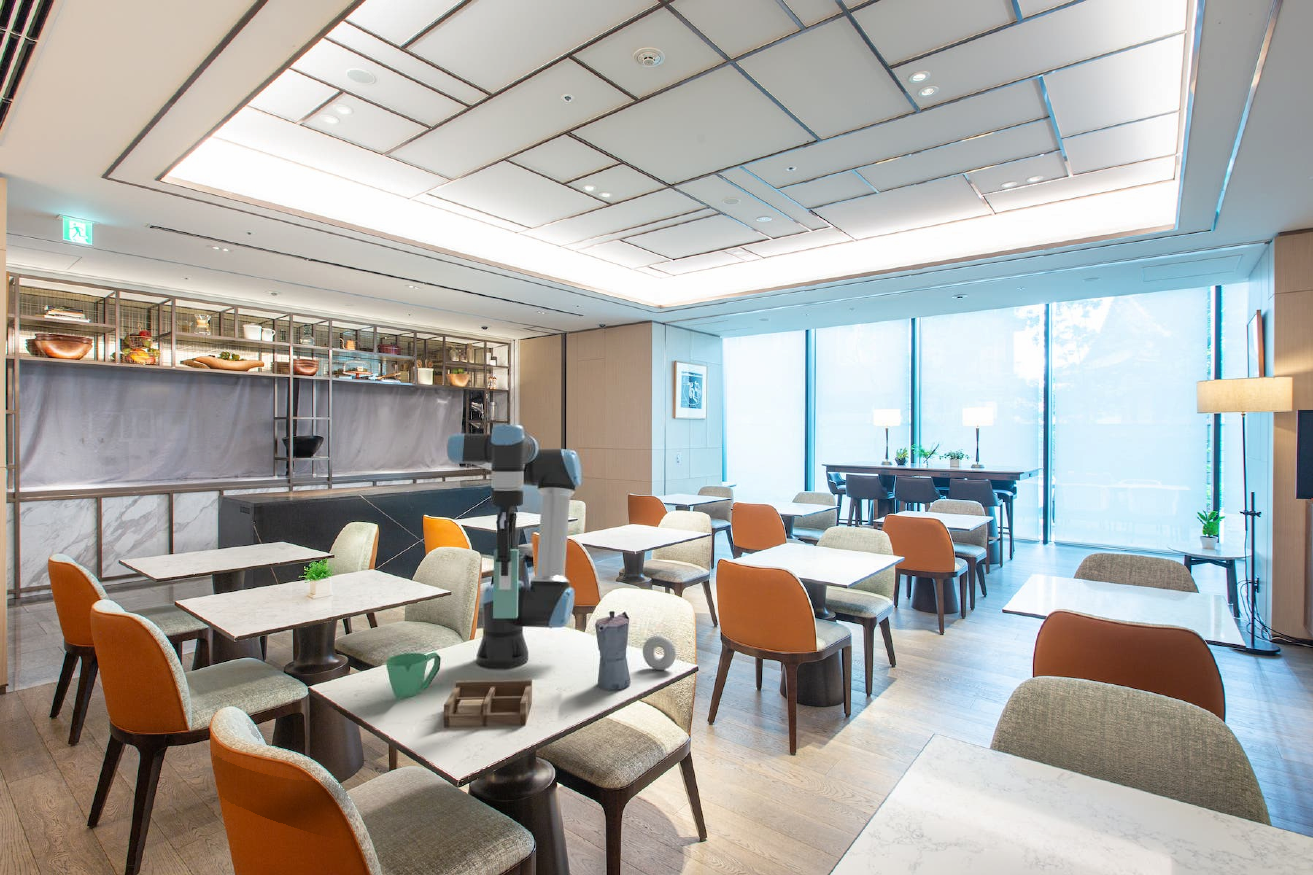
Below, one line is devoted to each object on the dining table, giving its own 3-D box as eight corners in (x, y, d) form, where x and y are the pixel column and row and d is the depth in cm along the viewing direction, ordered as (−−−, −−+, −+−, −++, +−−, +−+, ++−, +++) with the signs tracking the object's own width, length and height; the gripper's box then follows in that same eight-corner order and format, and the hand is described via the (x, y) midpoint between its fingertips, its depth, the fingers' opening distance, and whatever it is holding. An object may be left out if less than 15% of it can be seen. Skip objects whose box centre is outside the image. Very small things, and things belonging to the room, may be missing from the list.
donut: (677, 669, 185) (677, 635, 186) (673, 673, 182) (674, 638, 182) (644, 665, 189) (645, 631, 189) (640, 669, 185) (641, 634, 186)
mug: (401, 709, 156) (402, 668, 156) (377, 700, 161) (378, 660, 162) (450, 690, 168) (451, 652, 168) (427, 682, 174) (427, 645, 174)
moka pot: (584, 691, 169) (585, 614, 169) (610, 672, 183) (611, 602, 183) (617, 696, 165) (618, 618, 165) (641, 676, 179) (641, 605, 180)
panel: (494, 616, 154) (495, 549, 154) (517, 615, 154) (518, 549, 154) (493, 618, 152) (493, 550, 152) (516, 618, 152) (517, 550, 152)
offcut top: (460, 708, 148) (460, 699, 148) (483, 708, 149) (483, 699, 149) (457, 714, 145) (457, 705, 145) (480, 713, 145) (481, 704, 146)
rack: (456, 711, 155) (456, 680, 155) (531, 710, 156) (532, 679, 156) (443, 734, 143) (444, 700, 143) (525, 732, 144) (525, 698, 144)
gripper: (497, 487, 161) (496, 581, 160) (484, 491, 146) (483, 595, 145) (527, 487, 161) (526, 581, 161) (517, 491, 146) (516, 595, 146)
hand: (506, 587), depth 153 cm, fingers closed on panel, 2 cm apart
